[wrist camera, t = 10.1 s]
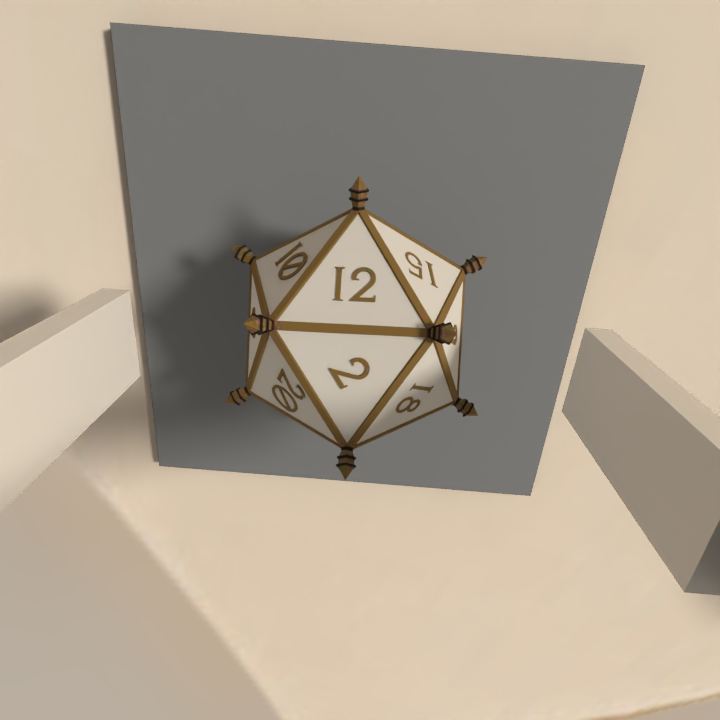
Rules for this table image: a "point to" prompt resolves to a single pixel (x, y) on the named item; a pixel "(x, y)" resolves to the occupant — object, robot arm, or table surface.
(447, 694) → the table surface
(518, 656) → the table surface
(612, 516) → the table surface
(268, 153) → the mat
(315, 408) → the game die
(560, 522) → the table surface
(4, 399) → the robot arm
